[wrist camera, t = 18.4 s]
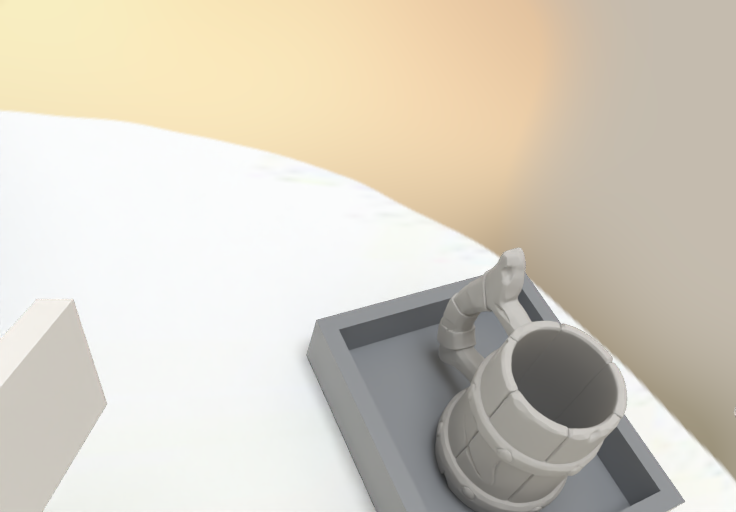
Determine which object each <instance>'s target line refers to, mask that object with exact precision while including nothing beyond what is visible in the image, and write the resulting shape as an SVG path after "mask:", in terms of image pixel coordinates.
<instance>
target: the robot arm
mask: <svg viewBox="0 0 736 512" xmlns="http://www.w3.org/2000/svg"><path fill="white" fill-rule="evenodd" d="M106 405H107V402H106V399H105V396H104V393H103V390H102V387H101V383H100V380H99V377H98V374H97V371H96V368H95V365H94V362H93V359H92V356H91V353H90V349H89V346H88V343H87V340H86V337H85V334H84V331H83V328H82V325H81V322H80V319H79V315H78V312H77V309H76V306H75V303H74V300H73V299H36V300H35V301H34V303H33V304H32V305H31V306H30V307H29V308H28V309H27V310H26V311H25V312H24V314H23V315H22V316H21V317H20V318H19V319H18V320H17V321H16V322H15V323H14V325H13V326H12V327H11V328H10V329H9V330H8V331H7V332H6V333H5V334H4V336H3V337H2V338H1V339H0V512H43V510H44V509H45V507H46V505H47V504H48V502H49V500H50V499H51V497H52V495H53V494H54V492H55V490H56V489H57V487H58V485H59V484H60V482H61V480H62V479H63V477H64V475H65V474H66V472H67V470H68V469H69V467H70V465H71V463H72V462H73V460H74V458H75V457H76V455H77V453H78V452H79V450H80V448H81V447H82V445H83V443H84V442H85V440H86V438H87V437H88V435H89V433H90V432H91V430H92V428H93V427H94V425H95V423H96V422H97V420H98V418H99V417H100V415H101V413H102V412H103V410H104V408H105V407H106ZM734 414H735V416H736V407H735V411H734Z"/></svg>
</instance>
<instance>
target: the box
mask: <svg viewBox="0 0 736 512" xmlns="http://www.w3.org/2000/svg"><path fill="white" fill-rule="evenodd" d="M481 276H482V275H481ZM479 277H480V276H478V277H474V278H470V279H466V280H463V281H459V282H455V283H452V284H448V285H444V286H441V287H437V288H433V289H429V290H426V291H422V292H418V293H415V294H411V295H407V296H403V297H400V298H396V299H392V300H389V301H385V302H381V303H378V304H374V305H370V306H366V307H363V308H359V309H355V310H352V311H348V312H344V313H340V314H337V315H333V316H329V317H326V318H322V319H318V320H316V323H315V327H314V331H313V334H312V338H311V341H310V345H309V349H308V352H307V357H308V359H309V361H310V364H311V366H312V368H313V370H314V373H315V375H316V377H317V379H318V382H319V384H320V386H321V388H322V391H323V393H324V395H325V397H326V399H327V402H328V404H329V406H330V408H331V411H332V413H333V415H334V417H335V420H336V422H337V424H338V426H339V429H340V431H341V433H342V435H343V437H344V440H345V442H346V444H347V446H348V449H349V451H350V453H351V455H352V458H353V460H354V462H355V464H356V466H357V469H358V471H359V473H360V475H361V478H362V480H363V482H364V484H365V487H366V489H367V491H368V493H369V496H370V498H371V500H372V502H373V504H374V507H375V509H376V511H377V512H476V511H474V510H473V509H471V508H470V507H468V506H467V505H465V504H464V503H463V502H462V501H461V500H460V499H459V498H458V497H457V496H456V495H455V494H454V493H453V492H452V491H451V490H450V489H449V487H448V484H447V480H446V477H445V475H444V473H443V474H441V472H440V470H439V467H438V464H437V459H436V454H435V443H436V432H437V426H438V423H439V420H440V417H441V415H442V413H443V411H444V409H445V408H446V406H447V405H448V403H449V402H450V401H451V400H452V398H453V397H454V396H455V395H457V394H458V393H459V392H460V391H462V390H463V389H465V388H467V387H470V385H471V383H470V382H469V380H468V379H467V378H466V377H465V376H464V375H463V374H462V373H461V372H460V371H459V370H458V369H456V368H455V367H454V366H452V365H449V364H446V363H444V362H443V361H441V359H440V357H439V346H440V343H439V342H438V341H437V335H438V327H439V323H440V320H441V318H443V314H444V312H445V310H446V307H447V305H448V302H449V300H450V299H451V298H452V297H453V295H455V294H456V293H458V292H459V291H460V290H461V289H462V288H464V287H465V286H467V285H468V284H469V283H470V282H472V281H474V280H476V279H477V278H479ZM518 301H519V303H520V304H521V306H522V307H523V308H524V310H525V311H526V313H527V314H528V316H529V318H530V320H531V321H532V322H535V321H553V322H558V323H559V325H561V323H560V322H559V320H558V319H557V317H556V316H555V314H554V313H553V312H552V310H551V309H550V307H549V306H548V304H547V303H546V302H545V300H544V299H543V297H542V296H541V294H540V293H539V292H538V290H537V289H536V287H535V286H534V284H533V283H532V282H531V280H530V279H529V277H528V276H527V274H526V273H525V275H524V283H523V287H522V290H521V292H520V293H519V295H518ZM474 325H475V339H476V345H474V348H475V349H476V351H477V352H478V353H479V354H480V355H482V356H483V358H484V359H485V358H486V357H487V356H488V355H489V354H491V353H492V352H493V351H495V350H497V349H499V348H500V347H501V346H502V345H503V343H504V342H505V341H506V339H507V338H508V335H507V333H506V331H505V329H504V327H503V326H502V324H501V323H500V321H499V319H498V318H497V317H496V315H495V314H494V313H493V311H492V312H488V311H485V312H480V314H479V315H478V317H477V319H476V320H475V322H474ZM684 502H685V500H684V499H683V498H682V496H681V495H680V493H679V492H678V490H677V489H676V488H675V486H674V485H673V483H672V482H671V480H670V479H669V478H668V476H667V475H666V473H665V472H664V470H663V469H662V468H661V466H660V465H659V463H658V462H657V460H656V459H655V458H654V456H653V455H652V453H651V452H650V450H649V449H648V448H647V446H646V445H645V443H644V442H643V440H642V439H641V437H640V436H639V435H638V433H637V432H636V430H635V429H634V427H633V426H632V425H631V423H630V422H629V420H628V419H627V417H626V416H625V415H624V416H623V417H622V418H621V420H620V422H619V424H618V425H617V427H616V428H615V429H614V430H613V431H612V432H611V433H610V434H609V435H608V436H607V437H606V438H605V439H604V441H603V444H602V445H601V447H600V449H599V451H598V452H597V454H596V456H595V457H594V458H593V459H592V460H591V461H590V462H589V463H588V464H586V465H585V466H584V467H583V468H582V469H581V470H580V471H579V472H578V473H577V474H575V475H573V476H568V477H567V480H566V483H565V485H564V487H563V489H562V490H561V492H560V493H559V494H558V496H557V497H556V498H555V499H554V500H553V501H552V502H551V503H550V504H549V505H547V506H546V507H545V508H543V509H541V510H540V511H539V512H669V511H671V510H672V509H674V508H676V507H677V506H679V505H680V504H682V503H684Z"/></svg>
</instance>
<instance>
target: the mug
mask: <svg viewBox="0 0 736 512" xmlns="http://www.w3.org/2000/svg"><path fill="white" fill-rule="evenodd" d="M525 268H526V263H525V257H524V253H523V251H522V249H521V248H515V249H511V250H508V251H505V252H504V253H503V254H502V255H501V257H500V259H499V261H498V263H497V264H496V265H495V266H494V267H493V268H492V269H490V270H488V271H486V272H485V273H484V274H483V275H482V276H480V277H479V278H477V279H476V280H474V281H472V282H470V283H469V284H468V285H467V286H465V287H464V288H462V289H461V290H460V291H459V292H458V293H456V294H455V295H453V297H452V298H451V299H450V300H449V302H448V305H447V307H446V310H445V312H444V314H443V318H441V320H440V323H439V327H438V335H437V341H438V342H439V343H440V346H439V357H440V359H441V361H443V362H444V363H446V364H449V365H452V366H454V367H455V368H456V369H458V370H459V371H460V372H461V373H462V374H463V375H464V376H465V377H466V378H467V379H468V380H469V382H470V383H471V385H470V387H467V388H465V389H463V390H462V391H460V392H459V393H458V394H457V395H455V396H454V397H453V398H452V400H451V401H450V402H449V403H448V405H447V406H446V408H445V409H444V411H443V413H442V415H441V417H440V420H439V423H438V426H437V432H436V443H435V454H436V459H437V464H438V467H439V470H440V472H441V474H443V473H444V475H445V477H446V480H447V484H448V487H449V489H450V490H451V491H452V492H453V493H454V494H455V495H456V496H457V497H458V498H459V499H460V500H461V501H462V502H463V503H464V504H465V505H467V506H468V507H470V508H471V509H473V510H474V511H476V512H539V511H540V510H541V509H543V508H545V507H546V506H547V505H549V504H550V503H551V502H552V501H553V500H554V499H555V498H556V497H557V496H558V494H559V493H560V492H561V490H562V489H563V487H564V485H565V483H566V480H567V477H568V476H573V475H575V474H577V473H578V472H579V471H580V470H581V469H582V468H583V467H584V466H585V465H586V464H588V463H589V462H590V461H591V460H592V459H593V458H594V457H595V456H596V454H597V452H598V451H599V449H600V447H601V445H602V444H603V441H604V439H605V438H606V437H607V436H608V435H609V434H610V433H611V432H612V431H613V430H614V429H615V428H616V427H617V425H618V424H619V422H620V420H621V418H622V417H623V416H624V413H625V410H626V406H627V390H626V385H625V381H624V378H623V376H622V374H621V371H620V370H619V368H618V367H617V365H616V364H615V363H612V359H613V358H612V356H611V355H610V354H609V353H608V351H607V350H606V349H605V348H604V347H603V346H602V345H601V344H600V343H598V342H597V341H596V340H595V339H593V338H592V337H590V336H589V335H588V334H586V333H585V332H583V331H581V330H579V329H577V328H575V327H573V326H570V325H567V324H561V325H559V323H558V322H553V321H535V322H532V321H531V320H530V318H529V316H528V314H527V313H526V311H525V310H524V308H523V307H522V306H521V304H520V303H519V301H518V295H519V293H520V292H521V290H522V287H523V283H524V275H525ZM485 311H488V312H492V311H493V313H494V314H495V315H496V317H497V318H498V319H499V321H500V323H501V324H502V326H503V327H504V329H505V331H506V333H507V335H508V338H507V339H506V341H505V342H504V343H503V345H502V346H501V347H500V348H499V349H497V350H495V351H493V352H492V353H491V354H489V355H488V356H487V357H486V358H485V359H484V358H483V356H482V355H480V354H479V353H478V352H477V351H476V349H475V348H474V345H476V339H475V325H474V322H475V320H476V319H477V317H478V315H479V314H480V312H485Z"/></svg>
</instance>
